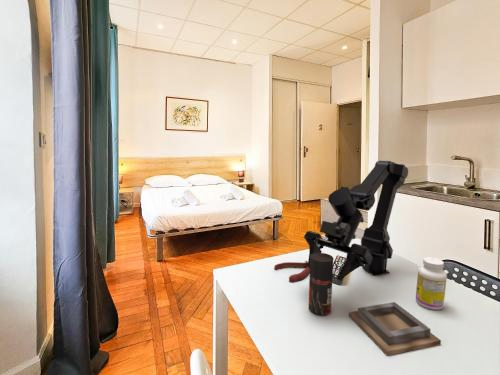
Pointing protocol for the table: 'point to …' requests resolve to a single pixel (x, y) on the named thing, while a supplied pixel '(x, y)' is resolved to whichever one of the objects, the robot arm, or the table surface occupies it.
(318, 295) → the deodorant
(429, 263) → the supplement bottle
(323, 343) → the table surface
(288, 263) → the pliers
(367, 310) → the socket board
